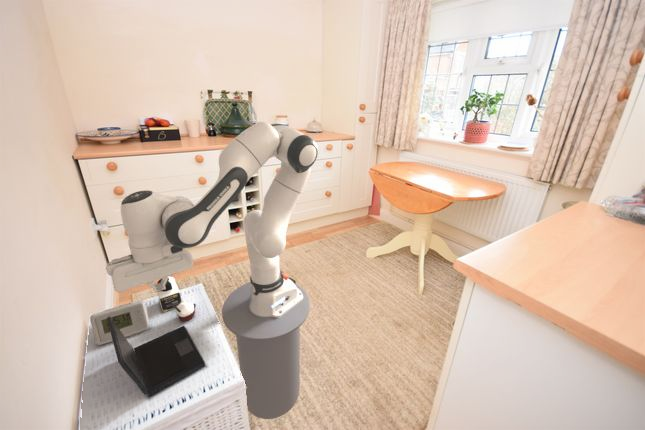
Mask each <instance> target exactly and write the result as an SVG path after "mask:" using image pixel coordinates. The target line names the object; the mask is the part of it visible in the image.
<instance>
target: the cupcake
mask: <svg viewBox="0 0 645 430" xmlns="http://www.w3.org/2000/svg"><path fill="white" fill-rule="evenodd" d="M169 303H170V304H171V305H172V306H173V307H174V310H175V313H176V316H177V318H178V319H179V321H181V322H188V321H189V322H190V321H191V320H192V319H193V318H194V317H195V313H196V307H197V304H196V303H191V302H188V301H182V303H180V304H179V305H178V306H177V307H176V306H175V305H174V304H173V303H172V302H170V301H169Z"/></svg>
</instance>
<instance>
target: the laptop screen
mask: <svg viewBox="0 0 645 430" xmlns="http://www.w3.org/2000/svg"><path fill="white" fill-rule="evenodd" d="M107 320H108V324H109V328H110V332H111V336H112V340H113V342H112V344H113V348H114V351H115V356H116V360H117V364H119V366H120V367H121V368H122V369H123V371H124V372H125V373H126V374H127V375H128V377H129V378H130V379H131V380H132V382H133V383H134V384H135V385H136V387H137V388H138V389H139V390H140V392H141V393H142V394H143V396H147V395H149V394H148V391H147V388H146V385H145V382H144V379H143V376H142V372H141V369H140V366H139V363H138V360H137V357H136V354H135V351H134V347H133V346H132V344H131V343H130V342H129V340H128V339H127V337H125V336H124V335H123V334H122V332H121V331H120V330H119V328H118V327H117V326H116V324H115V323H114V321H113V320H112V319H111V317H110V316H109V317H107Z"/></svg>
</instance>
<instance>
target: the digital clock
mask: <svg viewBox="0 0 645 430" xmlns="http://www.w3.org/2000/svg"><path fill="white" fill-rule="evenodd" d="M109 316H110V317H111V319H112V320H113V321H114V323H115V324H116V326H117V327H118V328H119V330H120V331H121V332H122V334H123V335H124V336H125V338H128V337H131V336H134V335H137V334H140V333H141V332H144V331H147V330H149V329H150V328H151V322H150V319H149V314H148V310H147V306H146V303H145V301H144V300H138V301H135V302H130V303H126V304H123V305H119V306H116V307H112V308H108V309H105V310H104V311H100V312H96V313H93V314H91V315H90V316H89V320H90V324H91V328H92V332H93V336H94V339H95V343H96V345H98V346H101V345H105V344H108V343H113V340H112V336H111V332H110V328H109V324H108V320H107V317H109Z"/></svg>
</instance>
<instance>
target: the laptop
mask: <svg viewBox="0 0 645 430" xmlns="http://www.w3.org/2000/svg"><path fill="white" fill-rule="evenodd" d="M189 333H190V332H188V330H187V328H186V326H185V325H182V326H179V327H177V328H175V329H173V330H170V331H168V332H166V333H163V334H162V335H160V336H158V337H155V338H153V339H151V340H148V341H146V342H144V343H142V344H140V345H138V346H136V347H133V349H134V352H135V355H136V359H137V362H138V365H139V368H140V371H141V374H142V377H143V380H144V383H145V386H146V389H147V393H148V394H147V395H148V397H149V398H151V397H153V396H155V395H157V394H159V393H160V392H162V391H164V390H165V389H167V388H169V387H171V386H173V385H174V384H176V383H178V382H180V381H181V380H184V379H185V378H187V377H189V376H191V375H192V374H194V373H196V372H198V371H200V370H201V369H203V368H205V367H206V364H205V361H204V359H203V357H202V355H201V354H200V351H199V349H198V348H197V346H196V344H195V342H194V341H193V339H192V337H191V335H190V334H189Z"/></svg>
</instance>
